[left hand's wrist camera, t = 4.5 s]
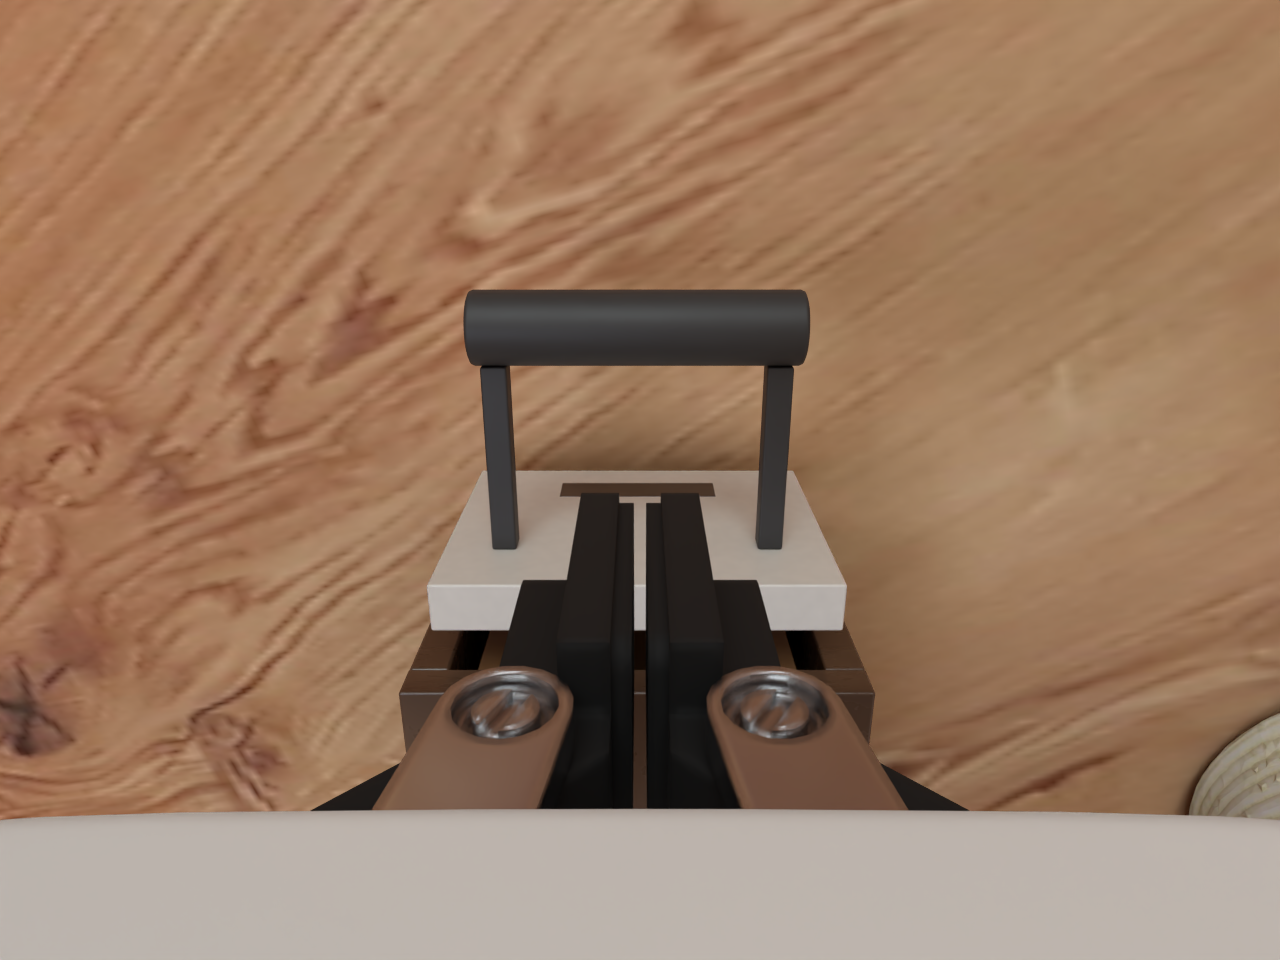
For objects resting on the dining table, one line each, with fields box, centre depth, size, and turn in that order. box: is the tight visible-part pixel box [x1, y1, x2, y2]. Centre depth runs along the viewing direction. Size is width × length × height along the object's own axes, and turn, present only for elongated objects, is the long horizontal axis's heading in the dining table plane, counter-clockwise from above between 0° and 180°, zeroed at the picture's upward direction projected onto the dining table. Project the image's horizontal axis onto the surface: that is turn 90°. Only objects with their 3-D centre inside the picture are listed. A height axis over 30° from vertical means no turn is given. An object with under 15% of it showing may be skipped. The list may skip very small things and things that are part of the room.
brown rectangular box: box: [399, 622, 875, 809], centre depth 26 cm, size 15×11×9 cm
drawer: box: [427, 290, 847, 670], centre depth 24 cm, size 20×10×7 cm, turn 0°
